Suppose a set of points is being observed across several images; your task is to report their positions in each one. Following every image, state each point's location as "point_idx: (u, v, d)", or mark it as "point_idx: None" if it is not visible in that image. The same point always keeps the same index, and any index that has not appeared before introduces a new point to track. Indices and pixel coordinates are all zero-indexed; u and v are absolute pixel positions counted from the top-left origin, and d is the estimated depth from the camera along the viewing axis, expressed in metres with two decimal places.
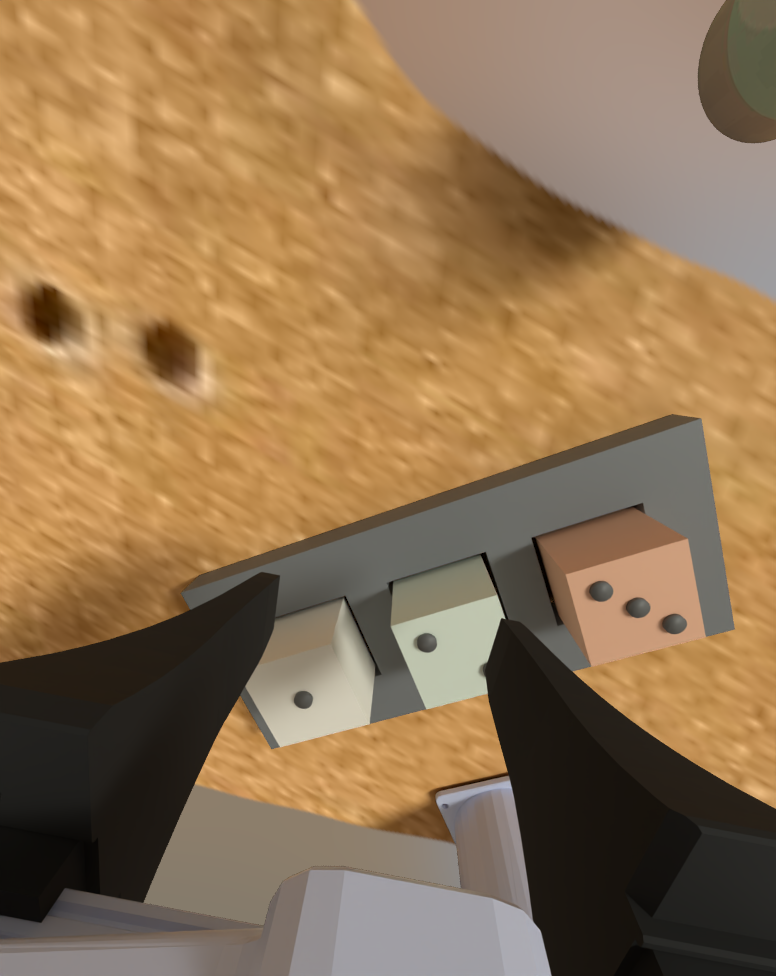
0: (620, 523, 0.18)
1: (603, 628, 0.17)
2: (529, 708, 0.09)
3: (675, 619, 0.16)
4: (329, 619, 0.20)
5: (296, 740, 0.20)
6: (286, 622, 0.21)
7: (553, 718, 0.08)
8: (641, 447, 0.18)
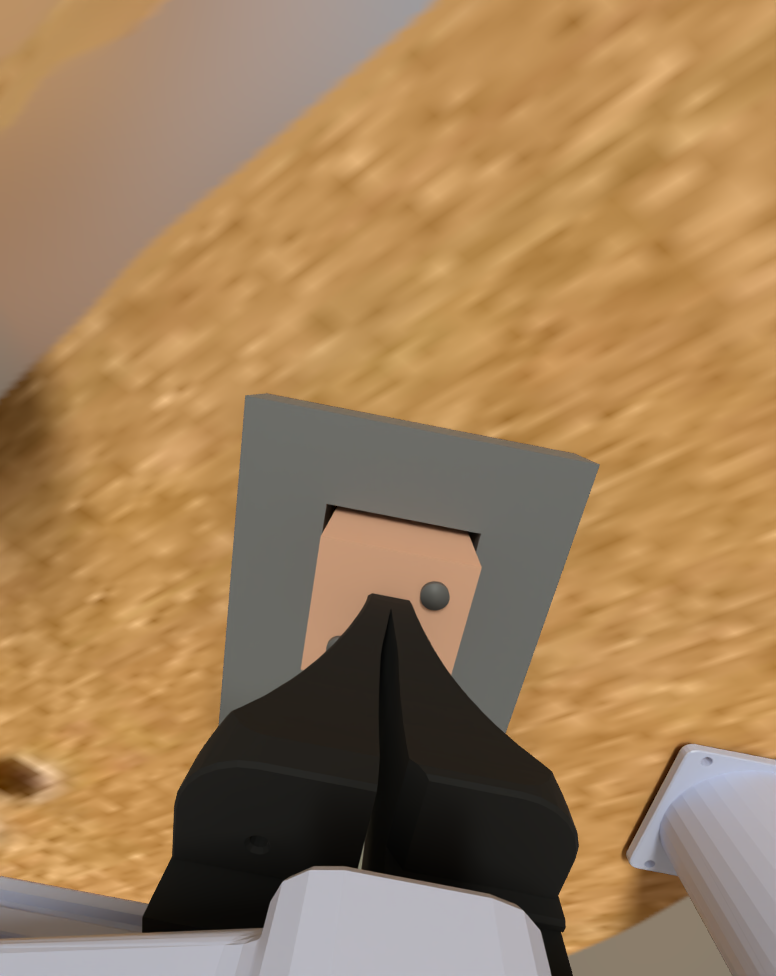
0: None
1: None
2: (388, 681, 0.09)
3: (426, 594, 0.12)
4: None
5: None
6: None
7: (393, 687, 0.08)
8: (251, 477, 0.13)
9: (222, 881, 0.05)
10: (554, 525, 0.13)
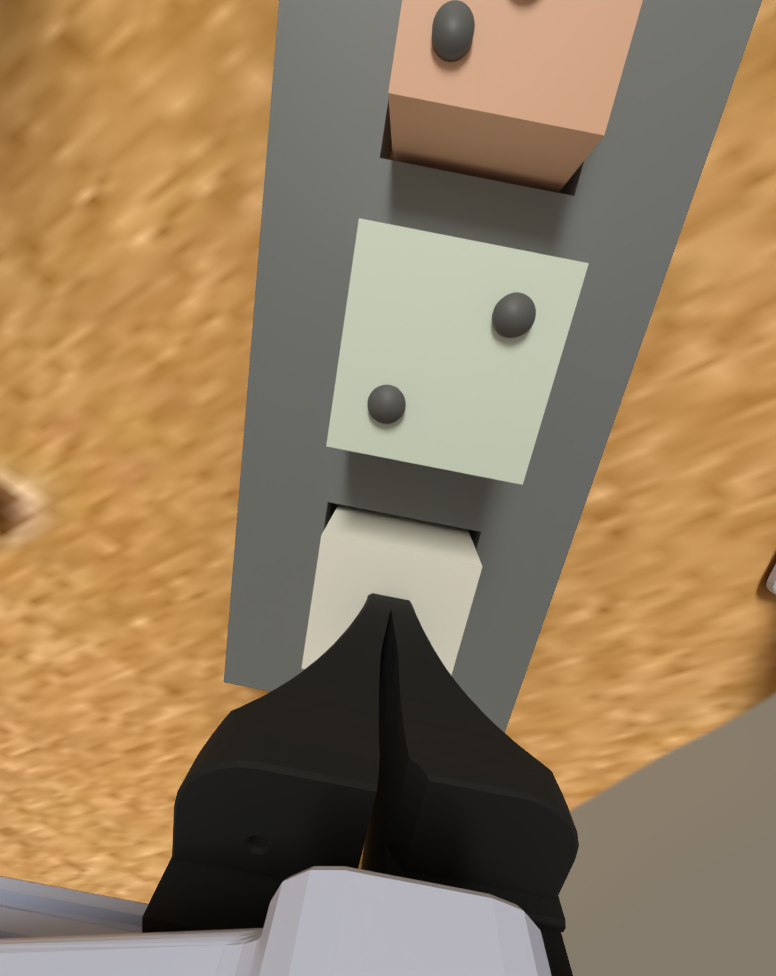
0: None
1: (535, 68, 0.08)
2: (388, 681, 0.09)
3: None
4: None
5: (448, 671, 0.13)
6: None
7: (393, 687, 0.08)
8: None
9: (222, 881, 0.05)
10: None
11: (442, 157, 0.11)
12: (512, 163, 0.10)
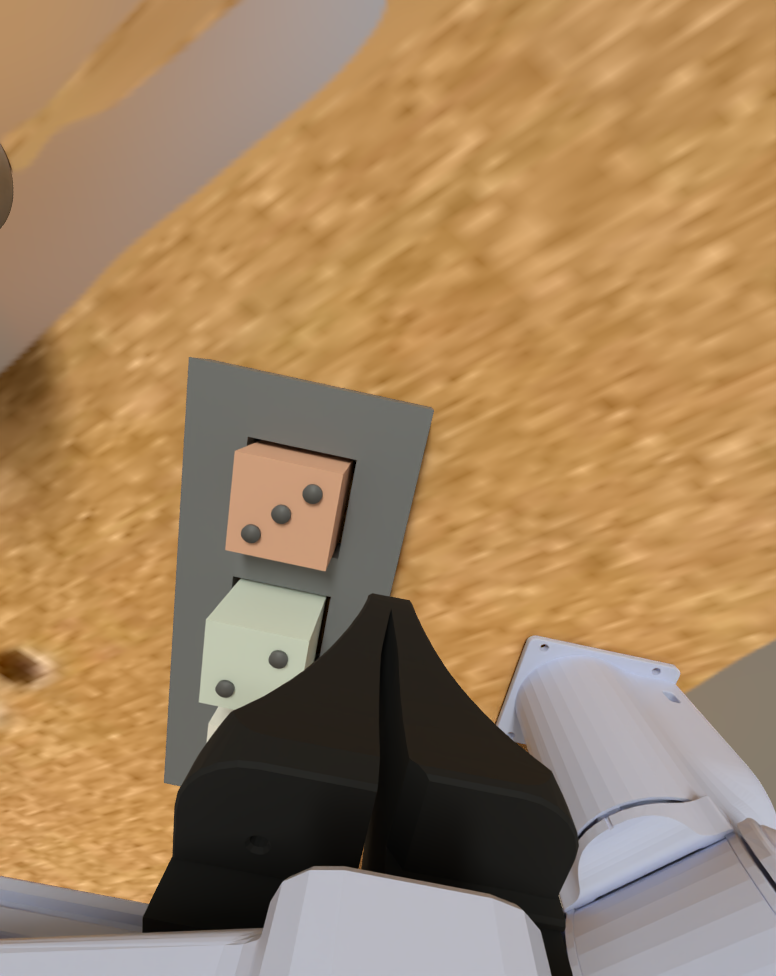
0: None
1: (290, 546, 0.18)
2: (388, 681, 0.09)
3: (306, 492, 0.17)
4: None
5: None
6: None
7: (394, 687, 0.08)
8: (194, 416, 0.19)
9: (222, 881, 0.05)
10: (407, 454, 0.19)
11: None
12: None
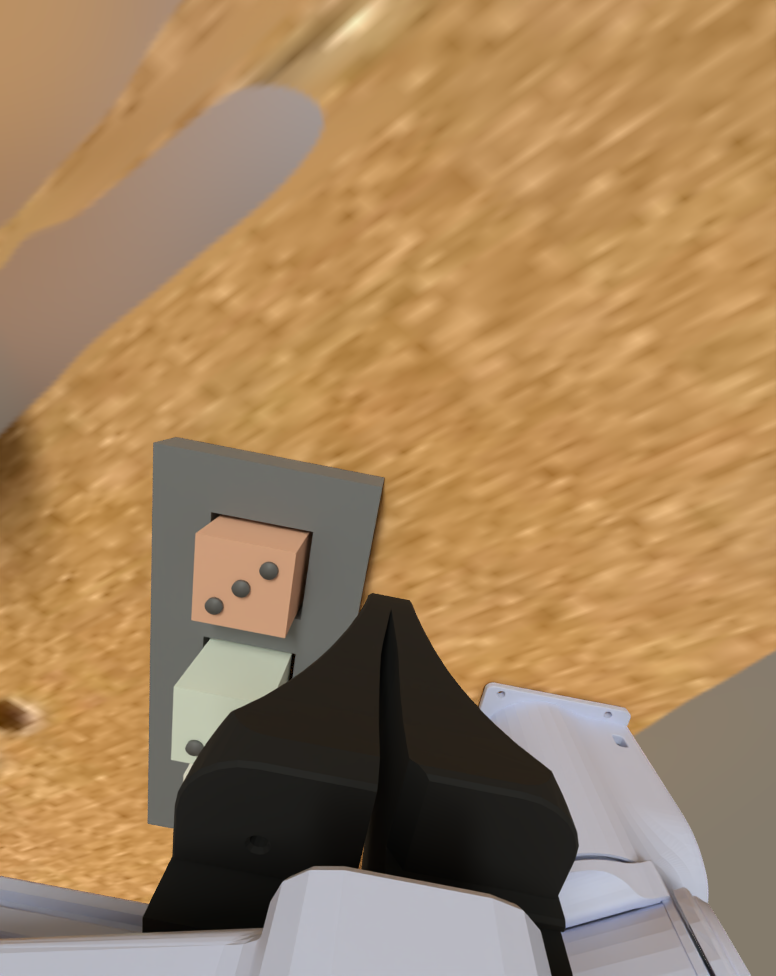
0: None
1: (251, 616, 0.20)
2: (388, 681, 0.09)
3: (263, 569, 0.19)
4: None
5: None
6: None
7: (393, 687, 0.08)
8: (160, 494, 0.20)
9: (222, 881, 0.05)
10: (359, 526, 0.20)
11: None
12: None
